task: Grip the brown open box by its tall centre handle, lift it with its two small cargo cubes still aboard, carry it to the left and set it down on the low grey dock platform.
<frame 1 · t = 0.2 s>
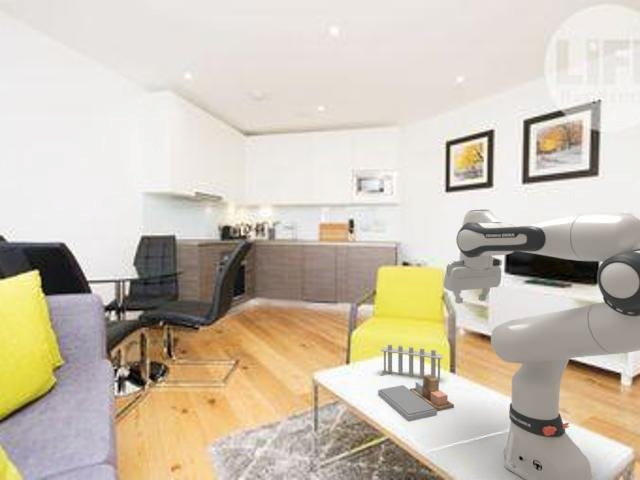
hand: (470, 301, 123), 39 cm above the table, tool pointing down, fingers open, 8 cm apart
brown open box: (430, 403, 136), on the table, touching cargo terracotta
dock: (405, 406, 132), on the table
test tube rack: (411, 379, 156), on the table
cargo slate: (423, 393, 140), point 1 cm above the table
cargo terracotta: (438, 404, 131), point 1 cm above the table, touching brown open box
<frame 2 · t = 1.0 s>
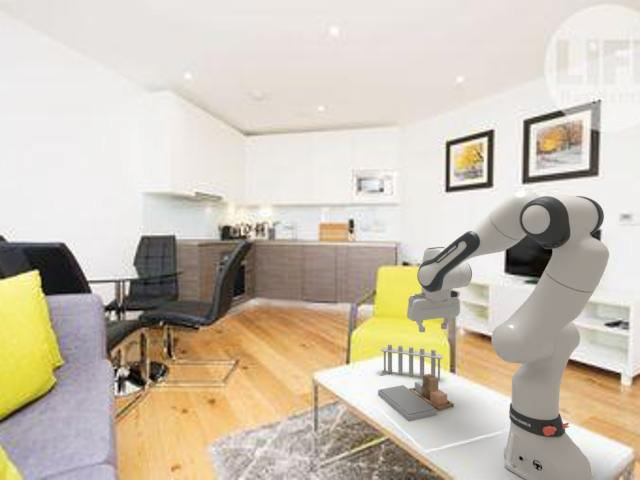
hand: (433, 330, 135), 26 cm above the table, tool pointing down, fingers open, 8 cm apart
brown open box: (430, 402, 136), on the table, touching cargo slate, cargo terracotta
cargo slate: (422, 393, 140), point 1 cm above the table, touching brown open box
everything else where it was.
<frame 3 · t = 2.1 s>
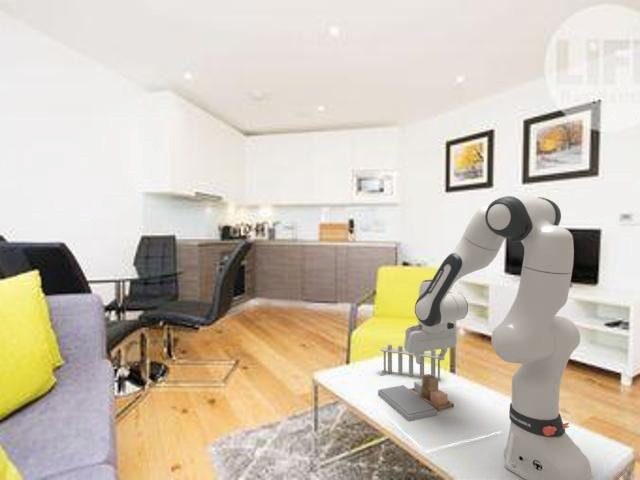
hand: (430, 361, 136), 15 cm above the table, tool pointing down, fingers open, 8 cm apart
nothing on the table moved.
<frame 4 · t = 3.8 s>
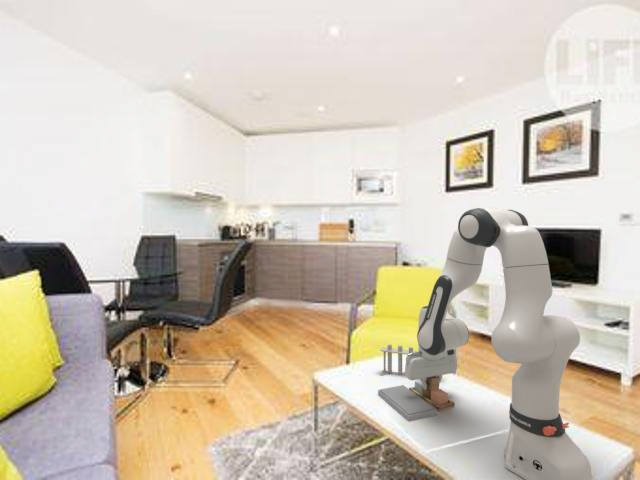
hand: (430, 387, 136), 5 cm above the table, tool pointing down, fingers closed on brown open box, 3 cm apart
brown open box: (430, 401, 136), on the table, touching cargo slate, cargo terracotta, gripper
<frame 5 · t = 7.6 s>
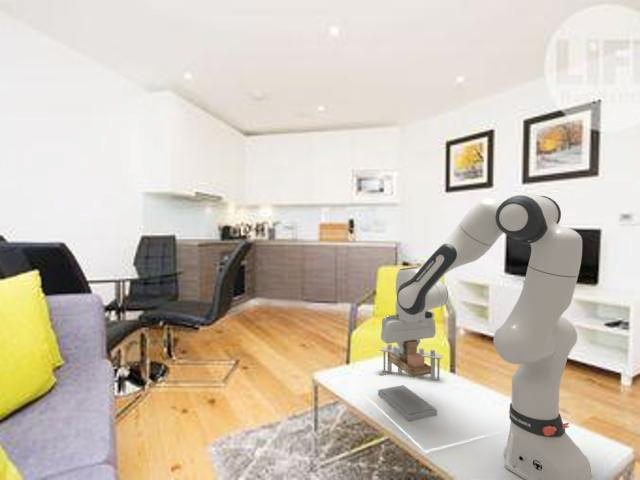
hand: (408, 352, 132), 19 cm above the table, tool pointing down, fingers closed on brown open box, 3 cm apart
brown open box: (408, 366, 132), point 14 cm above the table, touching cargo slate, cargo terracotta, gripper
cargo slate: (401, 358, 136), point 16 cm above the table, touching brown open box
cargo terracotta: (415, 367, 128), point 16 cm above the table, touching brown open box
everything else where it was.
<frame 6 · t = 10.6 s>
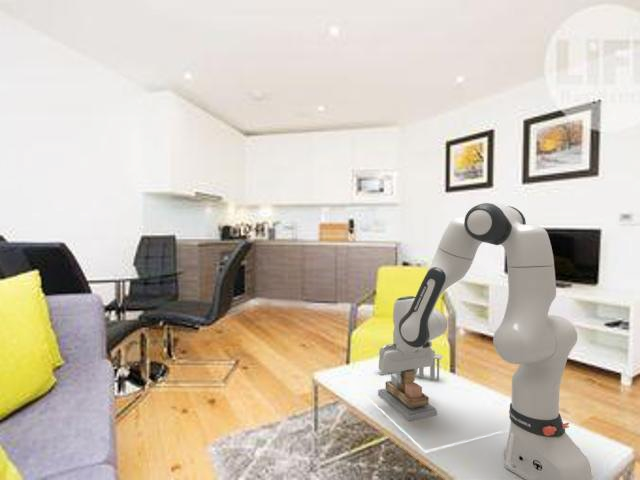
hand: (406, 381, 132), 9 cm above the table, tool pointing down, fingers closed on brown open box, 3 cm apart
brown open box: (406, 395, 132), point 4 cm above the table, touching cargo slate, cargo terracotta, gripper
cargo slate: (399, 386, 136), point 5 cm above the table, touching brown open box
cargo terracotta: (413, 397, 128), point 5 cm above the table, touching brown open box
everything else where it was.
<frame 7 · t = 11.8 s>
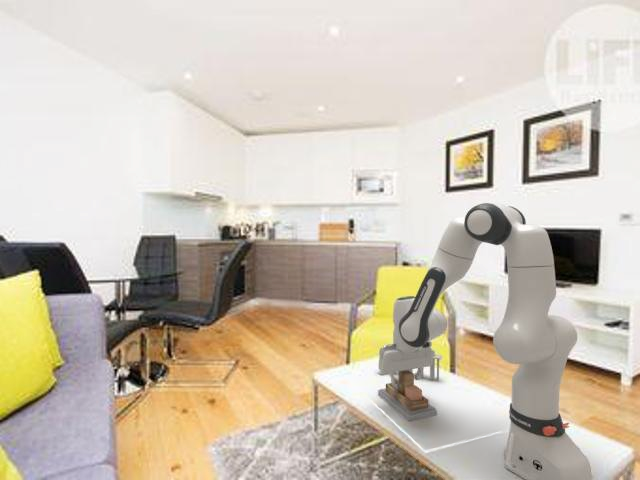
hand: (406, 381, 132), 9 cm above the table, tool pointing down, fingers open, 8 cm apart
brown open box: (406, 398, 132), point 3 cm above the table, touching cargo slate, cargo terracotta, dock
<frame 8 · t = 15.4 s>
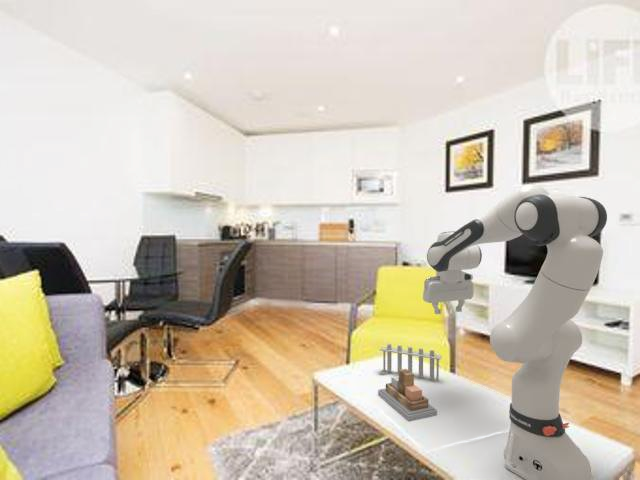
hand: (448, 312, 139), 31 cm above the table, tool pointing down, fingers open, 8 cm apart
nothing on the table moved.
at the end: brown open box inside the target area on the dock (0.1 cm from its centre), point 3.0 cm above the dock's base; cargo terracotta inside the target area on the brown open box (4.5 cm from its centre), point 1.5 cm above the brown open box's base; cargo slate inside the target area on the brown open box (4.5 cm from its centre), point 1.5 cm above the brown open box's base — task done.
